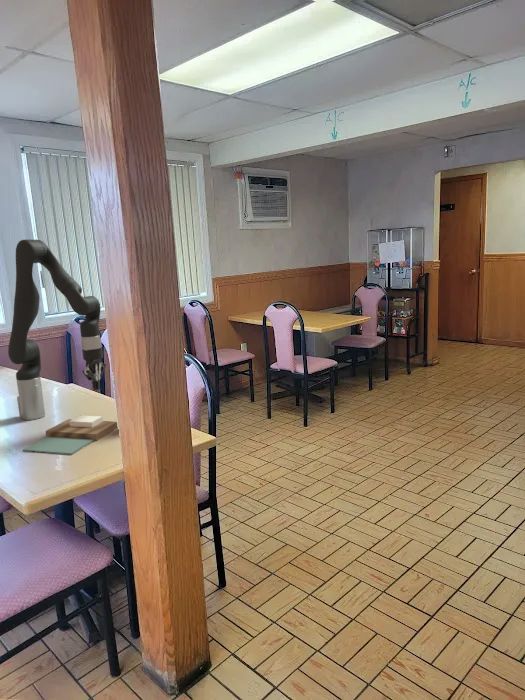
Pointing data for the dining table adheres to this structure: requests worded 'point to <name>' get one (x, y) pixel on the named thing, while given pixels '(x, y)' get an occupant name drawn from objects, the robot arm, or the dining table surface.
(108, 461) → the dining table surface
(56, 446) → the rubber mat
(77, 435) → the board
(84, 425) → the plastic block
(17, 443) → the dining table surface
